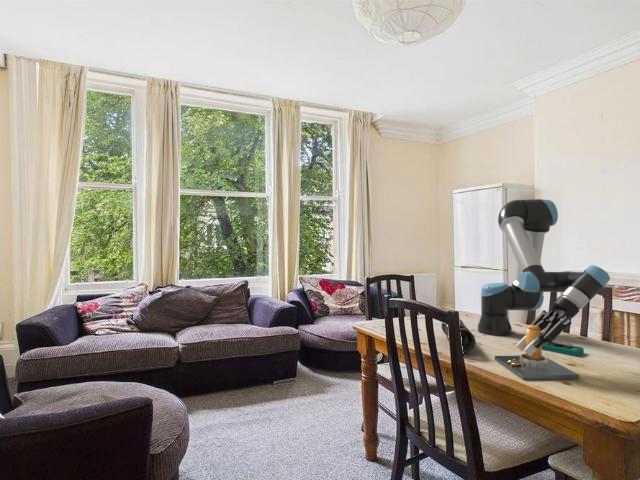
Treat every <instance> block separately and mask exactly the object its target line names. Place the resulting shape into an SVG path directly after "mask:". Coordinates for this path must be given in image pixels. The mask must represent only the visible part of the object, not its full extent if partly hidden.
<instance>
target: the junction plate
mask: <svg viewBox="0 0 640 480" xmlns="http://www.w3.org/2000/svg"><path fill="white" fill-rule="evenodd" d="M494 361H495V362H497V363H498V364H499V365H501V366H503V368H506V369H507V370H509V372H511V373H512V374H514V375H516V376H517V377H518V378H520V379H521V380H523V381H526V380H527V381H528V380H531V381H532V380H533V381H534V380H535V381H537V380H538V381H539V380H541V381H542V380H545V381H546V380H547V381H549V380H551V381H552V380H553V381H554V380H556V381H557V380H559V381H561V380H580V374H578V373H577V372H575V371H573V370H571V369H569V368H567V367H565V366H563V365H562V364H560V363H557V362H556V361H554V360H552V359H550V358H548V357H547V356H545V355H542V361H536V360H529V359H526V353H522V354H519V355H494Z"/></svg>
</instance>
